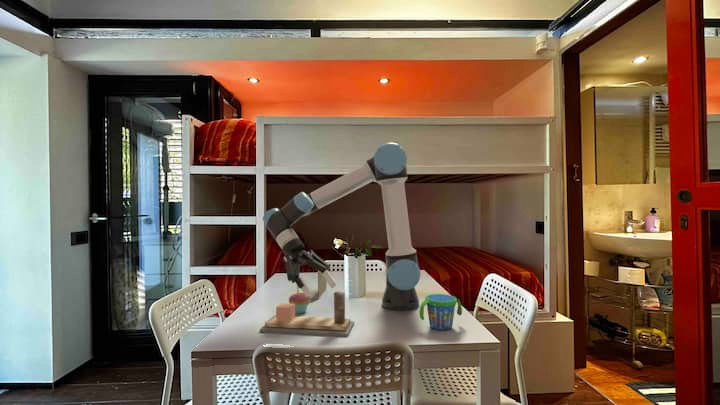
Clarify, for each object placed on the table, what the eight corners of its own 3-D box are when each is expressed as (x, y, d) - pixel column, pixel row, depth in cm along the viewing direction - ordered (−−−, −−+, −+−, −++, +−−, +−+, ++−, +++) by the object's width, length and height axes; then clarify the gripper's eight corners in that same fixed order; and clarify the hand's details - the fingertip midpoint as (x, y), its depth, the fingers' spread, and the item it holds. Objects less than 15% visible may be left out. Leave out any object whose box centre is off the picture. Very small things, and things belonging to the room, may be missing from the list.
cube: (295, 317, 132) (295, 303, 132) (290, 322, 127) (290, 307, 127) (281, 317, 133) (281, 303, 132) (276, 321, 128) (276, 307, 127)
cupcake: (306, 315, 143) (305, 283, 142) (285, 314, 144) (284, 283, 144) (313, 308, 151) (313, 278, 151) (293, 307, 153) (293, 278, 152)
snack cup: (454, 320, 135) (454, 292, 135) (469, 330, 125) (469, 300, 125) (413, 323, 132) (413, 295, 132) (425, 334, 121) (425, 303, 121)
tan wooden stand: (350, 322, 130) (350, 290, 130) (346, 330, 122) (345, 296, 122) (273, 318, 135) (273, 287, 134) (264, 326, 127) (264, 293, 126)
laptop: (301, 289, 183) (301, 262, 183) (326, 289, 182) (326, 263, 182) (291, 299, 166) (290, 270, 165) (319, 300, 164) (318, 270, 164)
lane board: (354, 324, 132) (354, 321, 132) (347, 336, 120) (347, 333, 120) (273, 320, 137) (273, 317, 137) (259, 332, 125) (259, 329, 125)
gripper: (308, 246, 150) (338, 289, 142) (259, 255, 129) (291, 305, 121) (318, 234, 147) (349, 276, 139) (269, 240, 126) (303, 291, 118)
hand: (322, 290), depth 130 cm, fingers open, 13 cm apart
